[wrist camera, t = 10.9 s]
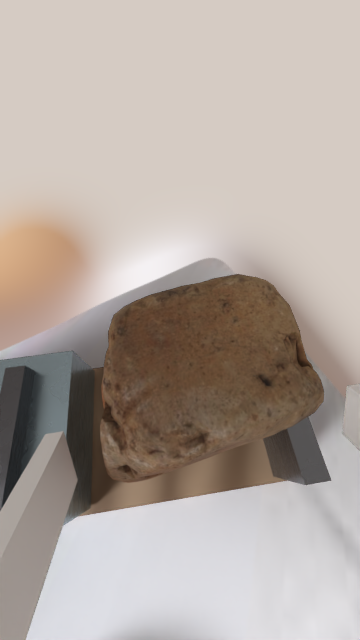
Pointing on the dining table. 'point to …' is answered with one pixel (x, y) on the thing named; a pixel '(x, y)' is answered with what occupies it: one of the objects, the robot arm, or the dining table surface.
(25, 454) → the block
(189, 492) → the vise base
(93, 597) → the dining table surface
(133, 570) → the dining table surface
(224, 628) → the dining table surface
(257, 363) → the block
